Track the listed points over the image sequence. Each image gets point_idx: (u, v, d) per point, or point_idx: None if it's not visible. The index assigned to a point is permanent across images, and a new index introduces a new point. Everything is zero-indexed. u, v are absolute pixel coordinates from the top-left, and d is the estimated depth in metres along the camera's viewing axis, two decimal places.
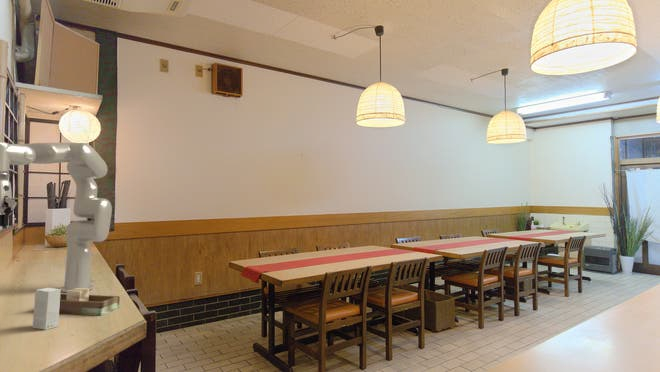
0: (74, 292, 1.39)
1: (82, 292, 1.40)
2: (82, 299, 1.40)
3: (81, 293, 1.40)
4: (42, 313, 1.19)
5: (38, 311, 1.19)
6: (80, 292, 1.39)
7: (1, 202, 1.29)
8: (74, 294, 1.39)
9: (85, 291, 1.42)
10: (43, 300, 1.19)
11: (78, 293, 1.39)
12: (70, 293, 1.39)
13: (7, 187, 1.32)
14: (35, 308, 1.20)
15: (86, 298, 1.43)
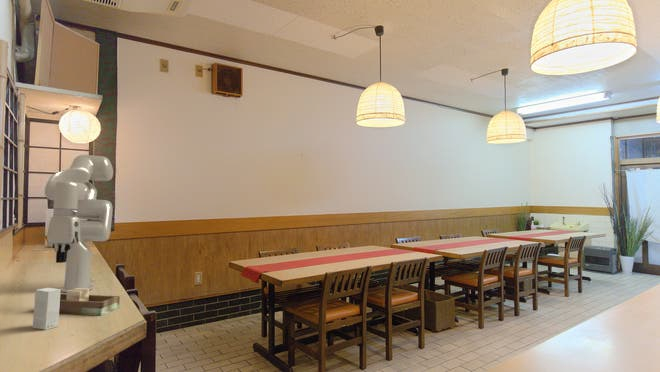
0: (74, 292, 1.39)
1: (82, 292, 1.40)
2: (82, 299, 1.40)
3: (81, 293, 1.40)
4: (42, 313, 1.19)
5: (38, 311, 1.19)
6: (80, 292, 1.39)
7: (72, 237, 1.41)
8: (74, 294, 1.39)
9: (85, 291, 1.42)
10: (43, 300, 1.19)
11: (78, 293, 1.39)
12: (70, 293, 1.39)
13: (76, 223, 1.44)
14: (35, 308, 1.20)
15: (86, 298, 1.43)
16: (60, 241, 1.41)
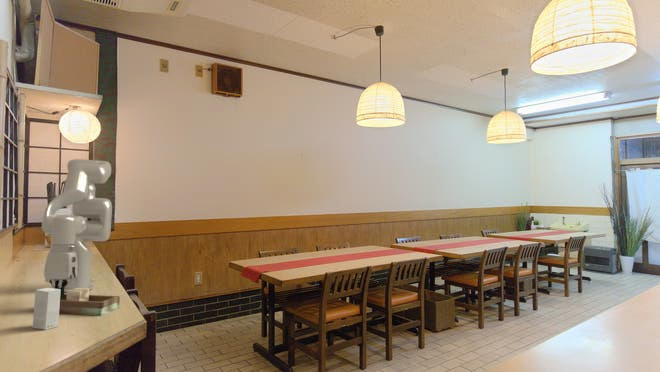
0: (74, 292, 1.39)
1: (82, 292, 1.40)
2: (82, 299, 1.40)
3: (81, 293, 1.40)
4: (42, 313, 1.19)
5: (38, 311, 1.19)
6: (80, 292, 1.39)
7: (70, 273, 1.40)
8: (74, 294, 1.39)
9: (85, 291, 1.42)
10: (43, 300, 1.19)
11: (78, 293, 1.39)
12: (70, 293, 1.39)
13: (74, 258, 1.43)
14: (35, 308, 1.20)
15: (86, 298, 1.43)
16: (57, 277, 1.40)
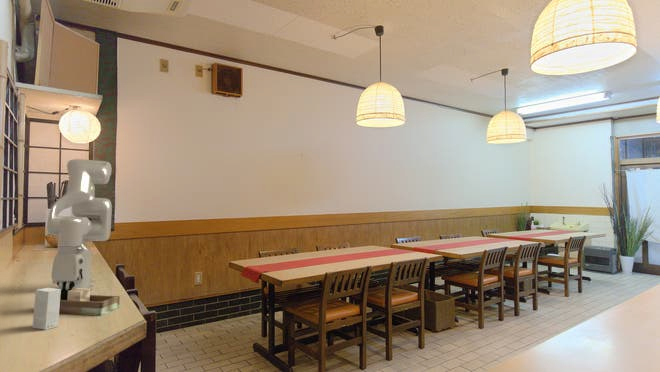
0: (75, 292, 1.39)
1: (83, 292, 1.40)
2: (83, 299, 1.40)
3: (82, 293, 1.40)
4: (42, 313, 1.19)
5: (38, 311, 1.19)
6: (81, 292, 1.39)
7: (77, 275, 1.40)
8: (75, 294, 1.39)
9: (86, 291, 1.42)
10: (43, 300, 1.19)
11: (79, 294, 1.39)
12: (71, 293, 1.39)
13: (81, 260, 1.43)
14: (35, 308, 1.20)
15: (87, 298, 1.42)
16: (64, 279, 1.40)
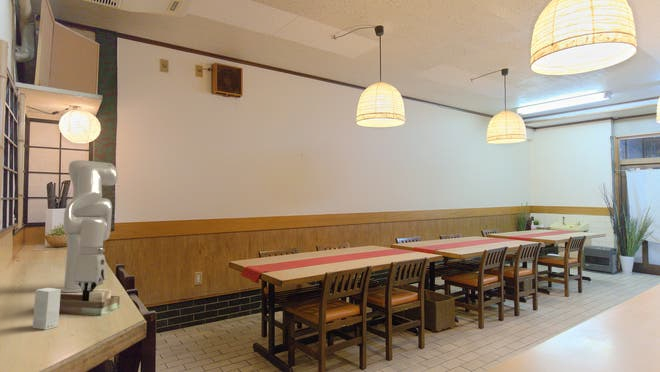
0: (96, 293, 1.38)
1: (104, 293, 1.39)
2: (104, 300, 1.40)
3: (104, 294, 1.39)
4: (42, 313, 1.19)
5: (38, 311, 1.20)
6: (102, 293, 1.38)
7: (99, 276, 1.40)
8: (96, 295, 1.38)
9: (107, 292, 1.41)
10: (43, 300, 1.19)
11: (101, 295, 1.38)
12: (92, 294, 1.38)
13: (102, 261, 1.43)
14: (35, 308, 1.20)
15: None
16: (86, 280, 1.39)
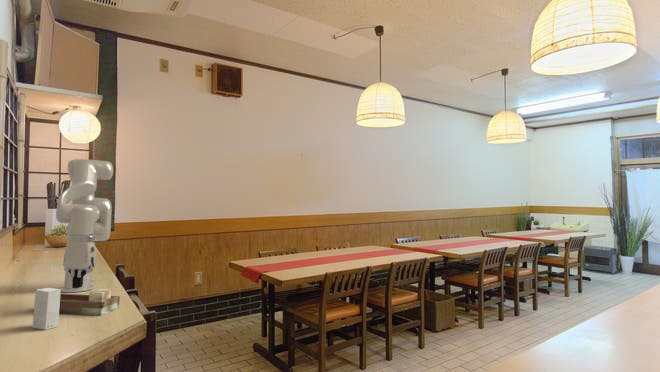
0: (96, 293, 1.38)
1: (104, 293, 1.39)
2: (104, 300, 1.40)
3: (104, 294, 1.39)
4: (42, 313, 1.19)
5: (38, 311, 1.19)
6: (102, 293, 1.38)
7: (89, 263, 1.41)
8: (96, 295, 1.38)
9: (107, 292, 1.41)
10: (43, 300, 1.19)
11: (101, 295, 1.38)
12: (92, 294, 1.38)
13: (92, 248, 1.44)
14: (35, 308, 1.20)
15: None
16: (76, 267, 1.41)
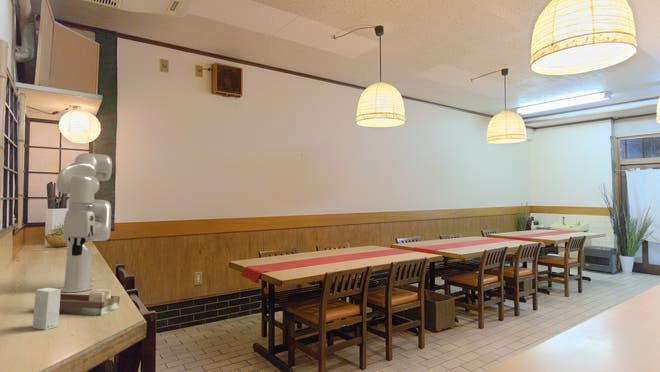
0: (96, 293, 1.38)
1: (104, 293, 1.39)
2: (104, 300, 1.40)
3: (104, 294, 1.39)
4: (42, 313, 1.19)
5: (38, 311, 1.19)
6: (102, 293, 1.38)
7: (88, 231, 1.44)
8: (96, 295, 1.38)
9: (107, 292, 1.41)
10: (43, 300, 1.19)
11: (101, 295, 1.38)
12: (92, 294, 1.38)
13: (92, 217, 1.46)
14: (35, 308, 1.20)
15: None
16: (76, 235, 1.43)
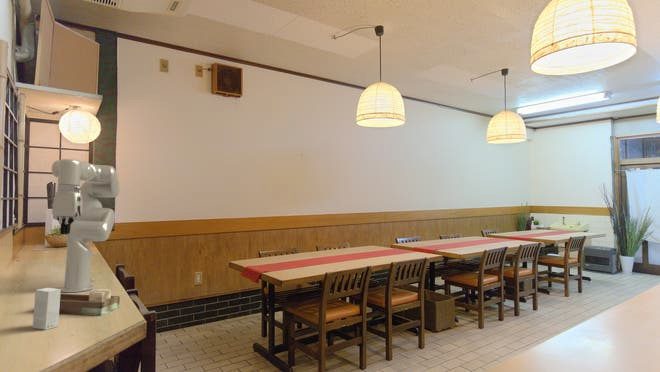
0: (96, 293, 1.38)
1: (104, 293, 1.39)
2: (104, 300, 1.40)
3: (104, 294, 1.39)
4: (42, 313, 1.19)
5: (38, 311, 1.19)
6: (102, 293, 1.38)
7: (75, 211, 1.53)
8: (96, 295, 1.38)
9: (107, 292, 1.41)
10: (43, 300, 1.19)
11: (101, 295, 1.38)
12: (92, 294, 1.38)
13: (79, 198, 1.56)
14: (35, 308, 1.20)
15: None
16: (64, 214, 1.53)
